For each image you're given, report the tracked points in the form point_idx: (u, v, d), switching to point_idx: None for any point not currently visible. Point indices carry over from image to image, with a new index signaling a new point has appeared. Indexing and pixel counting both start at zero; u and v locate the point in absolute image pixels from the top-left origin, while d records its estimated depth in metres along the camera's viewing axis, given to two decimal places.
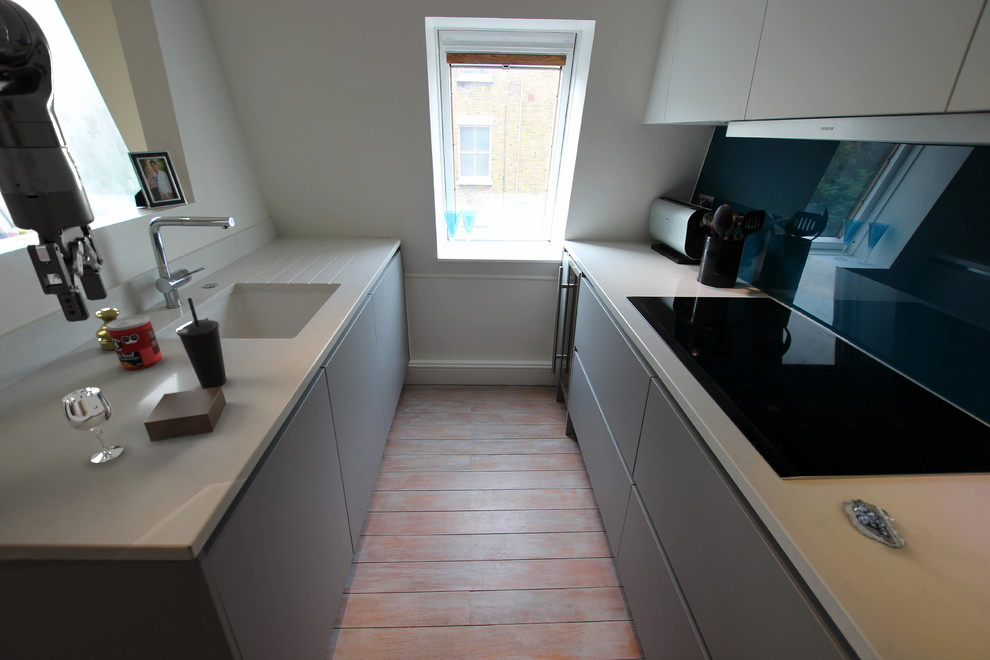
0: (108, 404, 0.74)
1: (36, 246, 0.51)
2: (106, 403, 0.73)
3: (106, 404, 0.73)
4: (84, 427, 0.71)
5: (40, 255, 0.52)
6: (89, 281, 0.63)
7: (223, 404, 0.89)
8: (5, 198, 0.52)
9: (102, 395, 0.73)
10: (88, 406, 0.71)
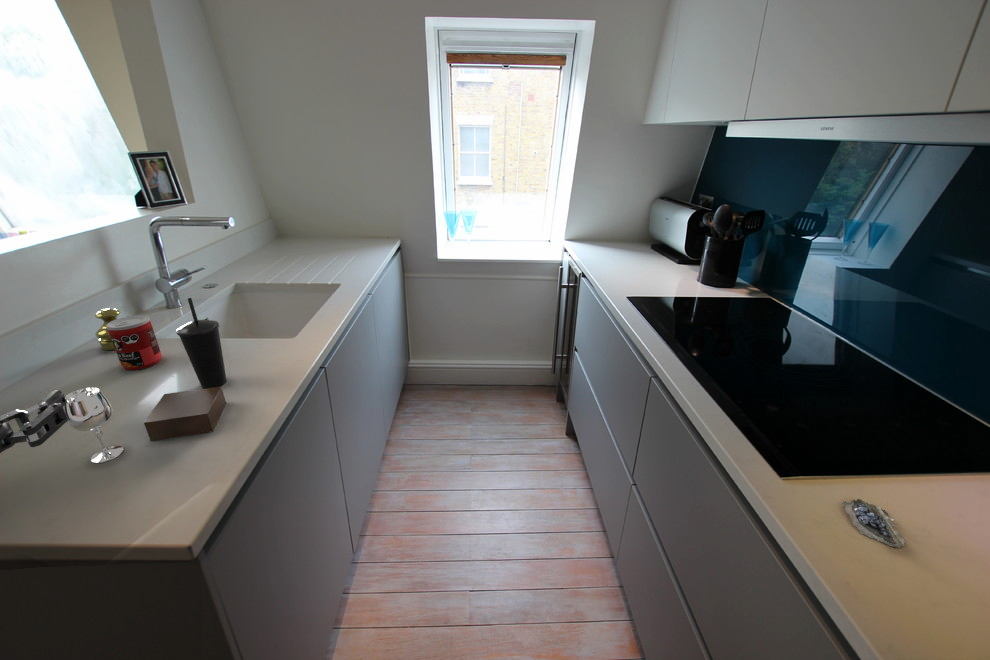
0: (108, 404, 0.74)
1: None
2: (106, 403, 0.73)
3: (106, 404, 0.73)
4: (84, 427, 0.71)
5: None
6: None
7: (223, 404, 0.89)
8: None
9: (102, 395, 0.73)
10: (88, 406, 0.71)
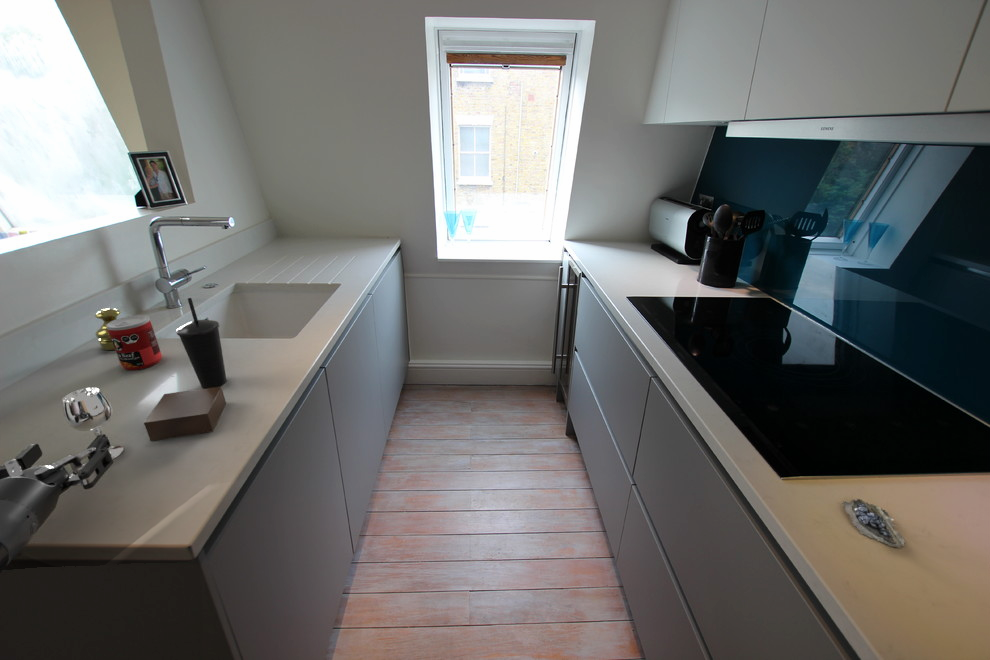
0: (108, 404, 0.74)
1: None
2: (106, 403, 0.73)
3: (106, 404, 0.73)
4: (84, 427, 0.71)
5: None
6: None
7: (223, 404, 0.89)
8: None
9: (102, 395, 0.73)
10: (88, 406, 0.71)
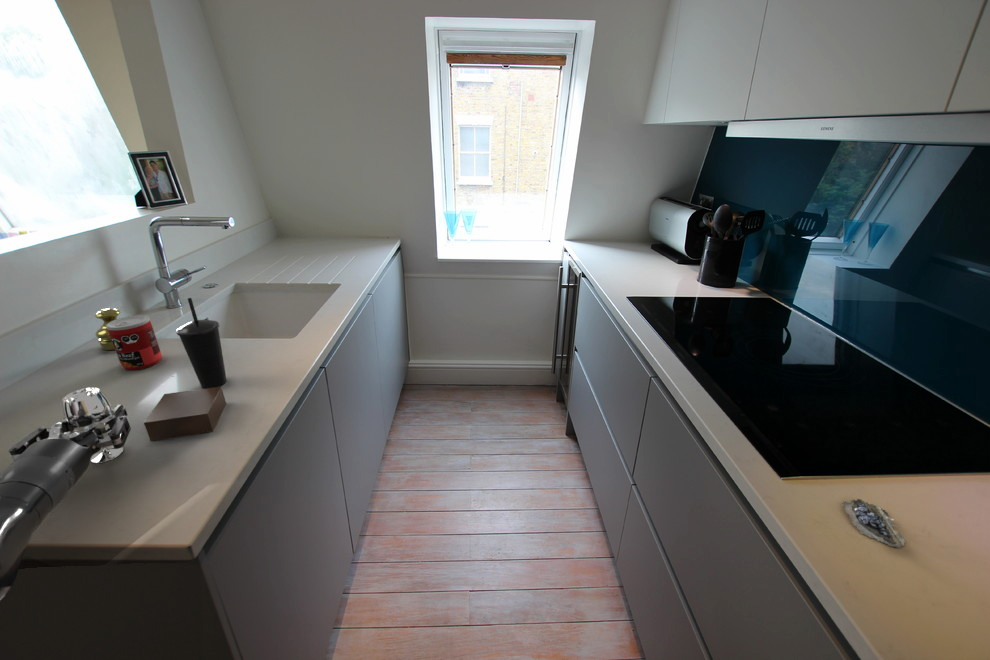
0: (108, 404, 0.74)
1: (11, 455, 0.65)
2: (106, 403, 0.73)
3: (106, 404, 0.73)
4: (84, 427, 0.71)
5: None
6: None
7: (223, 404, 0.89)
8: (14, 460, 0.60)
9: (102, 395, 0.73)
10: (88, 406, 0.71)
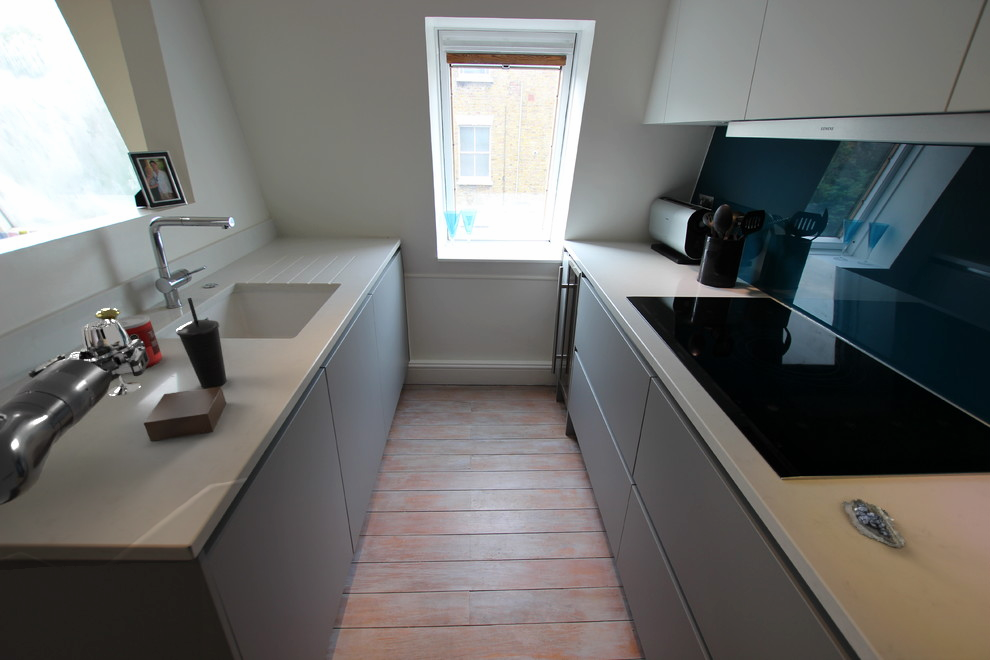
0: (126, 336, 0.73)
1: (30, 377, 0.64)
2: (124, 334, 0.72)
3: (124, 335, 0.73)
4: None
5: None
6: None
7: (223, 404, 0.89)
8: None
9: (121, 326, 0.72)
10: (107, 335, 0.70)
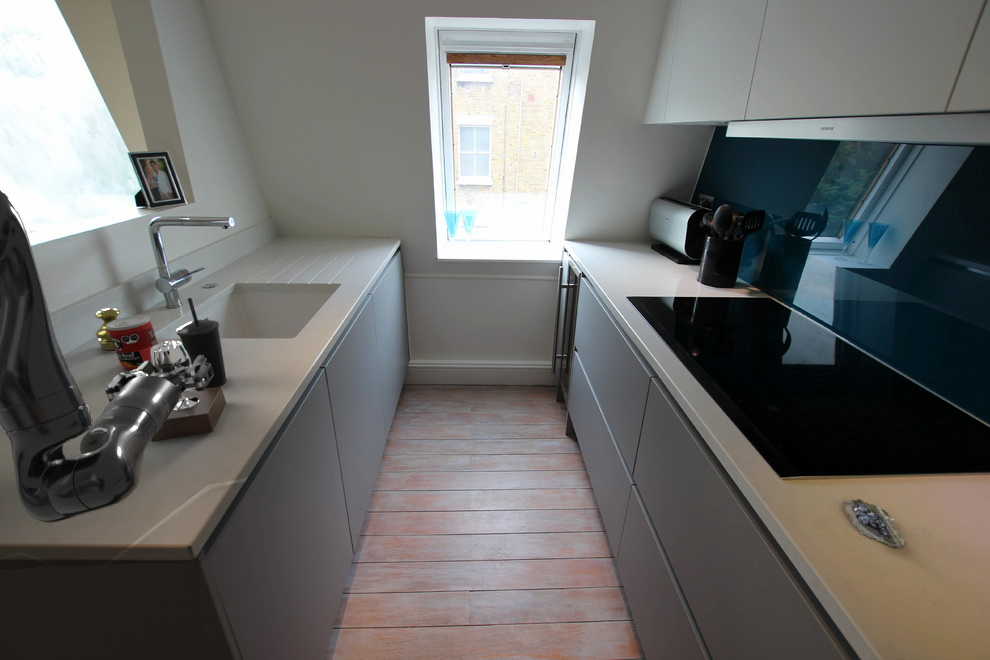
0: (188, 356, 0.81)
1: (107, 394, 0.71)
2: (187, 354, 0.80)
3: (187, 356, 0.80)
4: None
5: None
6: None
7: (223, 404, 0.89)
8: (119, 392, 0.67)
9: (184, 347, 0.80)
10: (174, 356, 0.78)
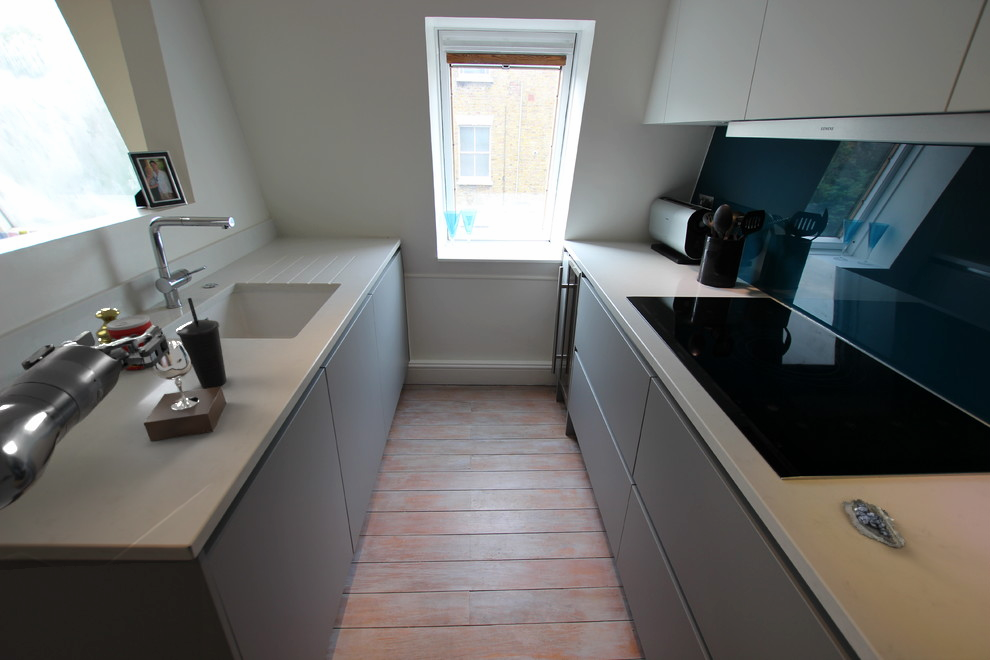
0: (188, 356, 0.81)
1: (24, 370, 0.55)
2: (187, 354, 0.80)
3: (187, 356, 0.80)
4: (169, 375, 0.78)
5: None
6: None
7: (223, 404, 0.89)
8: (34, 365, 0.51)
9: (184, 347, 0.80)
10: (173, 356, 0.78)
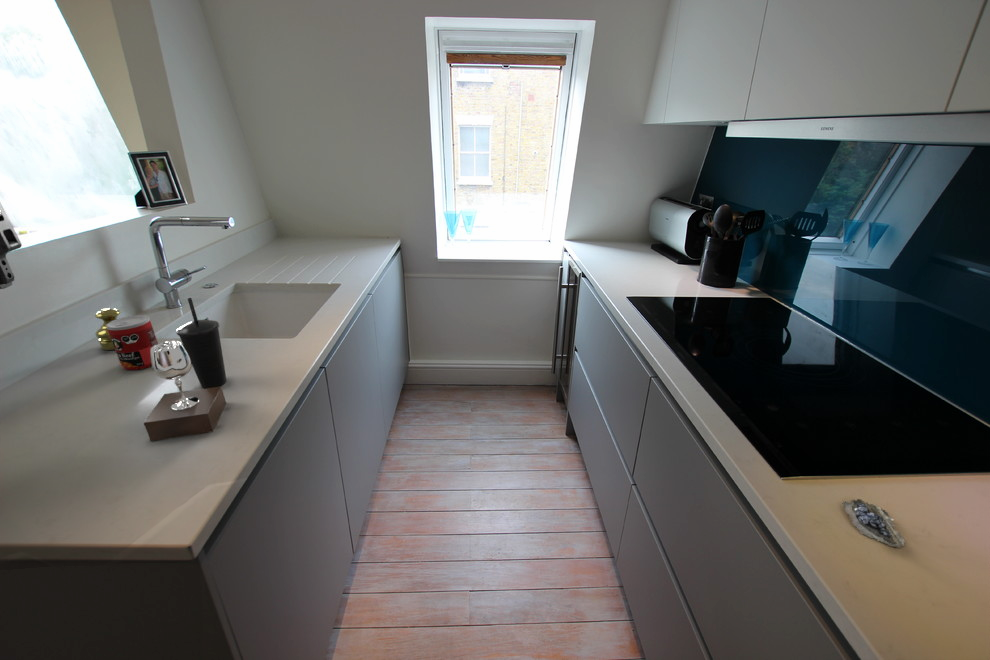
0: (188, 356, 0.81)
1: None
2: (187, 354, 0.80)
3: (187, 356, 0.80)
4: (169, 375, 0.78)
5: None
6: None
7: (223, 404, 0.89)
8: None
9: (184, 347, 0.80)
10: (173, 356, 0.78)
